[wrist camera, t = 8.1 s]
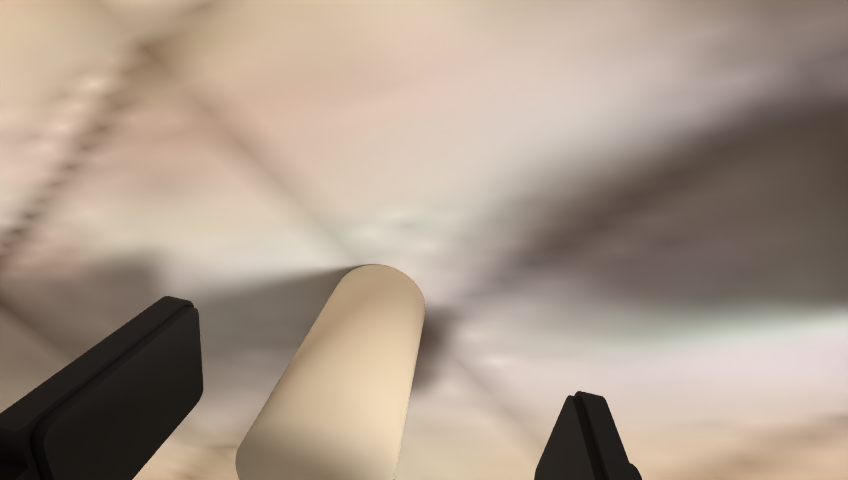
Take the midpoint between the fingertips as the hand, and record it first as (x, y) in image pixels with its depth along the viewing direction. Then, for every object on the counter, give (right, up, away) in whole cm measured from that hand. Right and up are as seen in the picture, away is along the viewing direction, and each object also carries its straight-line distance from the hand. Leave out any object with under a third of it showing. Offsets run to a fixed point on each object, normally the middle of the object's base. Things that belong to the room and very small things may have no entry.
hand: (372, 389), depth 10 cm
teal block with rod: (-1, -5, +6) cm, 8 cm away
